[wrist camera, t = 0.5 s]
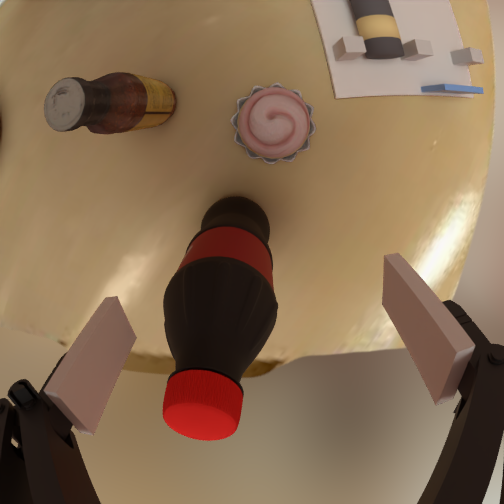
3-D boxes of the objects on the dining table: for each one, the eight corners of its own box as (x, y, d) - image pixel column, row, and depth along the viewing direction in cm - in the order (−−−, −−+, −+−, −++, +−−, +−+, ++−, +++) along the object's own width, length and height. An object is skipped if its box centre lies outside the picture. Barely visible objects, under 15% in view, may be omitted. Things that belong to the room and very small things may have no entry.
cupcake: (312, 92, 32) (331, 81, 23) (305, 163, 36) (321, 176, 27) (236, 84, 32) (229, 70, 23) (231, 156, 36) (222, 167, 27)
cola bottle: (196, 236, 41) (109, 430, 13) (220, 181, 37) (129, 341, 10) (251, 261, 42) (242, 471, 15) (279, 208, 39) (323, 406, 11)
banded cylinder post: (337, -16, 25) (346, -32, 20) (372, -15, 24) (385, -29, 19) (360, 59, 29) (373, 51, 25) (394, 59, 29) (412, 52, 24)
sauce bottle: (147, 74, 31) (56, 45, 13) (186, 93, 33) (117, 67, 14) (124, 118, 34) (23, 125, 16) (162, 137, 35) (77, 156, 17)
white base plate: (300, -30, 24) (307, -53, 18) (439, -16, 22) (462, -28, 16) (334, 98, 32) (350, 94, 26) (470, 97, 30) (498, 98, 24)
